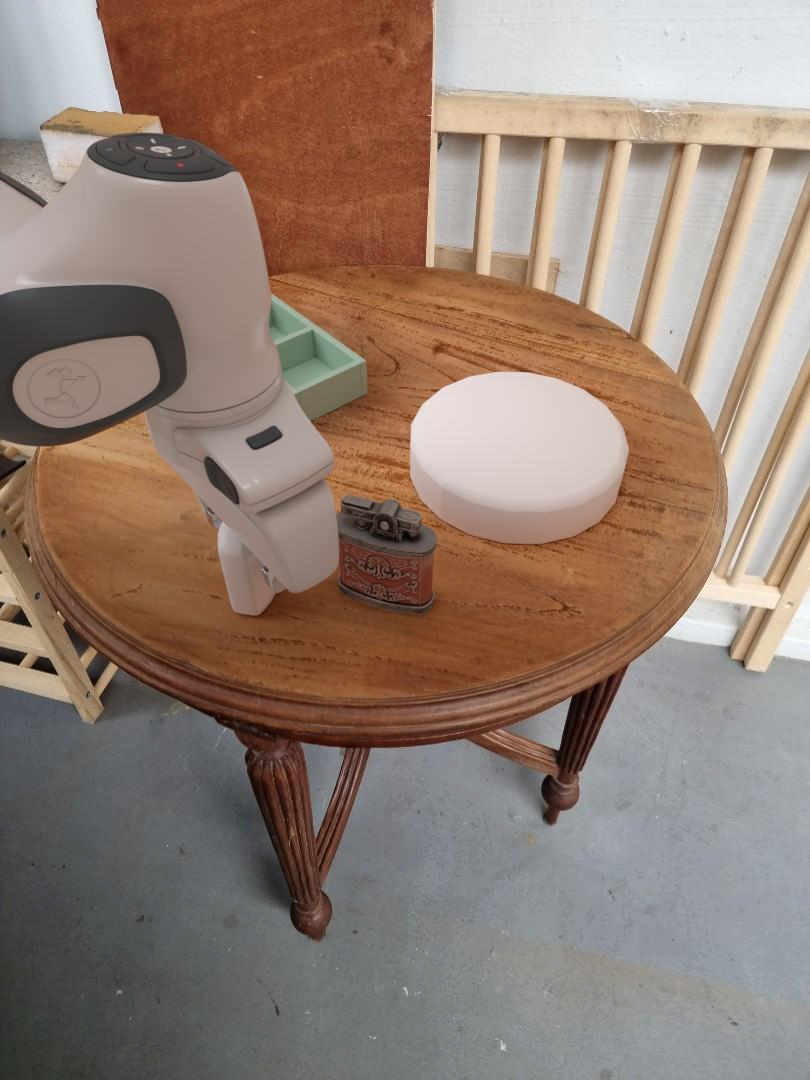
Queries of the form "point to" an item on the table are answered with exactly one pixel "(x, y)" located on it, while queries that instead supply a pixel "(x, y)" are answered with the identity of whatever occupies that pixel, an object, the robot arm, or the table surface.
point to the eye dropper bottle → (242, 575)
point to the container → (517, 457)
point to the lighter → (385, 555)
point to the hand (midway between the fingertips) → (248, 551)
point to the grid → (315, 362)
